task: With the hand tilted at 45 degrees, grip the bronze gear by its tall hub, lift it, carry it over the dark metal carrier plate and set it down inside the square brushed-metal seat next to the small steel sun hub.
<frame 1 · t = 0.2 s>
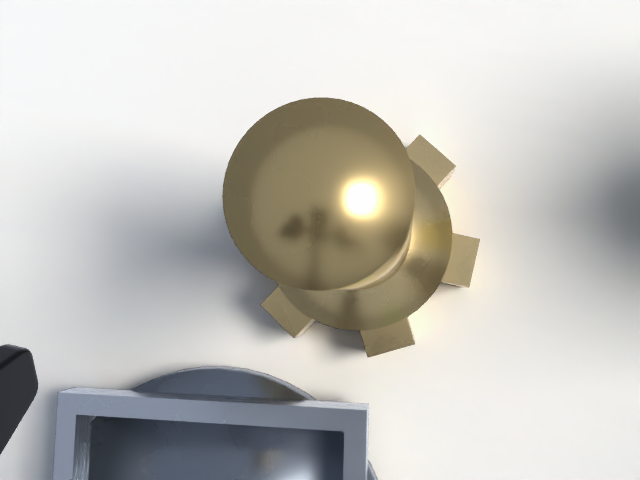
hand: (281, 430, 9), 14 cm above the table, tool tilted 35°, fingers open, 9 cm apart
planet gear: (360, 240, 24), on the table
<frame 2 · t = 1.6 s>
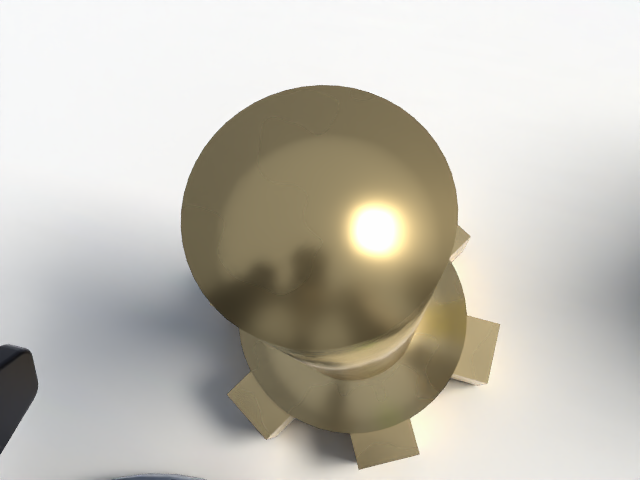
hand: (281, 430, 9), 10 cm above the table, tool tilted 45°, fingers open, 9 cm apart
planet gear: (353, 322, 20), on the table
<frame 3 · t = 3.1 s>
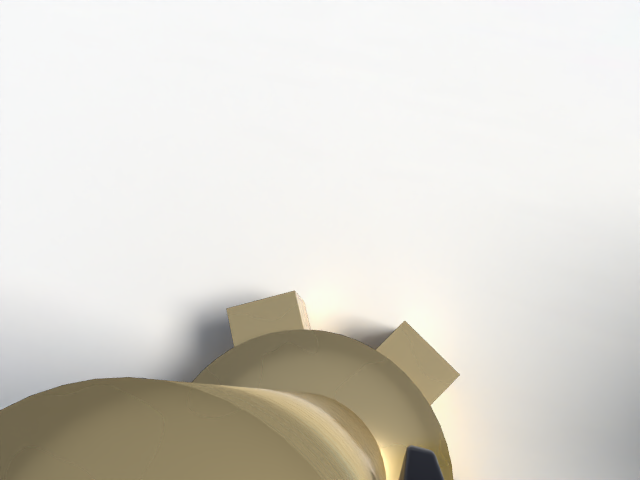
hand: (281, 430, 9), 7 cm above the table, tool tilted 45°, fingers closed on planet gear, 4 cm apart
planet gear: (309, 471, 15), on the table, touching gripper
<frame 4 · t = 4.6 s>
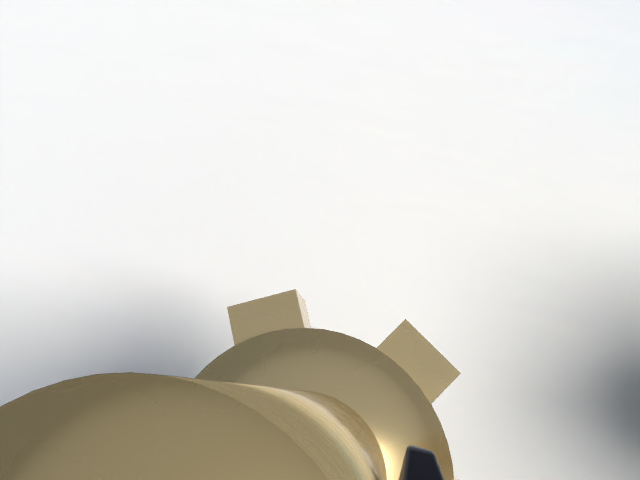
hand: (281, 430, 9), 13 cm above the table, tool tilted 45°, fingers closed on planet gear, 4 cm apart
planet gear: (310, 469, 15), point 7 cm above the table, touching gripper
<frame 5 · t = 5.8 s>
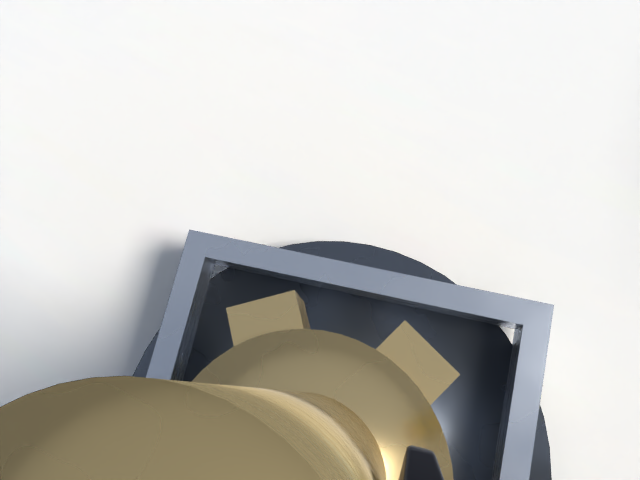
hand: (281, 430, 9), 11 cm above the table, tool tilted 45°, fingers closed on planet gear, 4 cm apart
planet gear: (309, 471, 15), point 4 cm above the table, touching gripper
carrier plate: (327, 449, 20), on the table
when the fingers open (9 cm above the table, at t = 6.4 s): planet gear drops 1 cm, resting on carrier plate.
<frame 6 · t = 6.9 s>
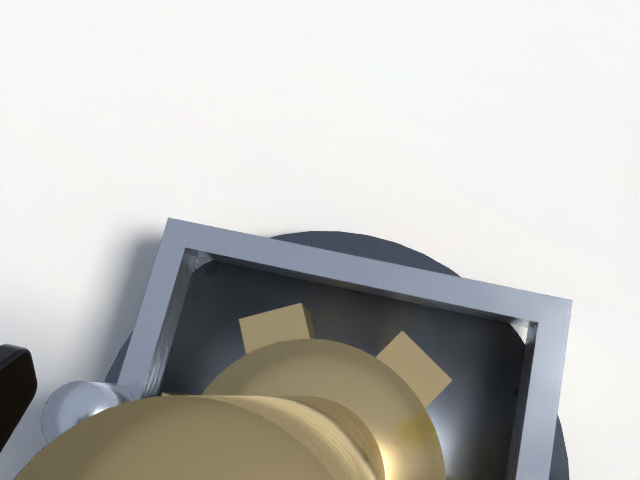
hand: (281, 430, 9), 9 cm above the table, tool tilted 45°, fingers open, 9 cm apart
planet gear: (315, 468, 17), point 1 cm above the table, touching carrier plate
carrier plate: (319, 461, 18), on the table
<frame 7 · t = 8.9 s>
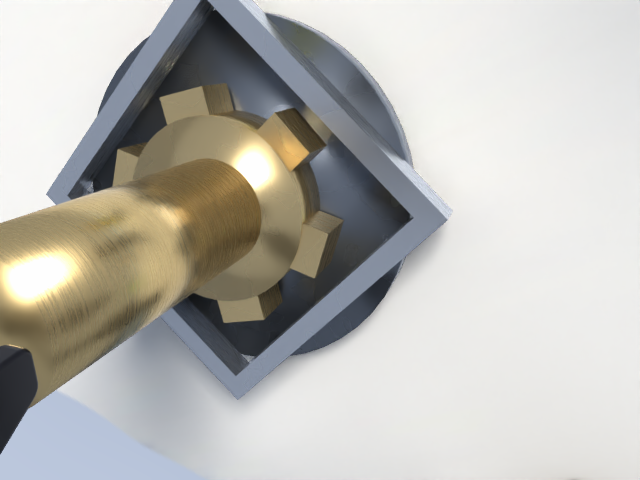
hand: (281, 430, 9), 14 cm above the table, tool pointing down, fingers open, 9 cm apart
planet gear: (237, 199, 23), point 1 cm above the table, touching carrier plate
carrier plate: (247, 192, 24), on the table
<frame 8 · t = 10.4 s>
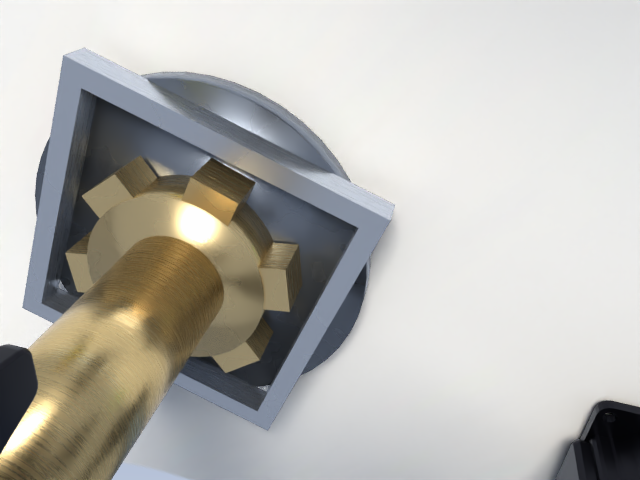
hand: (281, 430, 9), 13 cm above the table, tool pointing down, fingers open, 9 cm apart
planet gear: (195, 255, 23), point 1 cm above the table, touching carrier plate
carrier plate: (203, 242, 24), on the table
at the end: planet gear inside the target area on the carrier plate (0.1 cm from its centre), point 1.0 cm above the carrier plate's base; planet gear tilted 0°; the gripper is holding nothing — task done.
